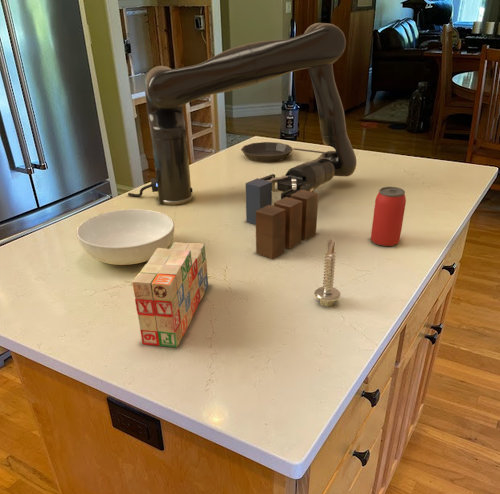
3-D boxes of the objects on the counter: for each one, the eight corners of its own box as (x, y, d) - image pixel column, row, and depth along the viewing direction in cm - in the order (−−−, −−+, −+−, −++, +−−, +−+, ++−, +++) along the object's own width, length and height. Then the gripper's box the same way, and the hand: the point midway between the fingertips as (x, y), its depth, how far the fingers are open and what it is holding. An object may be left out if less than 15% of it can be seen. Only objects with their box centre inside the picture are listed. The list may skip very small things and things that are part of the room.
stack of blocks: (179, 283, 104) (172, 226, 97) (208, 286, 103) (205, 228, 96) (141, 344, 87) (131, 280, 80) (177, 348, 86) (169, 283, 79)
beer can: (402, 238, 120) (410, 188, 113) (396, 249, 115) (404, 197, 109) (374, 233, 123) (380, 184, 116) (367, 244, 118) (373, 193, 111)
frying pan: (255, 147, 187) (255, 136, 185) (339, 157, 175) (339, 146, 173) (231, 160, 175) (231, 148, 172) (319, 172, 162) (320, 160, 160)
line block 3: (300, 229, 125) (302, 189, 120) (316, 234, 123) (318, 193, 117) (289, 235, 123) (290, 194, 117) (304, 240, 120) (306, 199, 114)
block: (257, 216, 133) (257, 178, 127) (271, 220, 130) (272, 181, 125) (246, 222, 130) (245, 183, 124) (260, 226, 127) (260, 186, 122)
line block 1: (268, 246, 118) (269, 204, 112) (284, 251, 115) (285, 209, 110) (256, 253, 115) (255, 210, 109) (272, 259, 112) (272, 215, 107)
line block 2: (285, 237, 122) (286, 196, 116) (301, 242, 119) (302, 201, 113) (273, 244, 119) (273, 202, 113) (289, 249, 116) (290, 207, 111)
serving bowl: (95, 285, 104) (88, 254, 100) (73, 247, 119) (67, 219, 115) (191, 262, 112) (188, 233, 108) (159, 229, 127) (155, 202, 123)
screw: (344, 306, 96) (321, 312, 94) (331, 294, 100) (309, 299, 98) (351, 241, 88) (326, 247, 87) (336, 231, 92) (312, 236, 91)
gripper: (284, 159, 141) (246, 173, 131) (328, 168, 133) (291, 185, 123) (284, 186, 145) (247, 202, 135) (326, 196, 138) (290, 214, 127)
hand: (268, 194), depth 129 cm, fingers open, 8 cm apart
